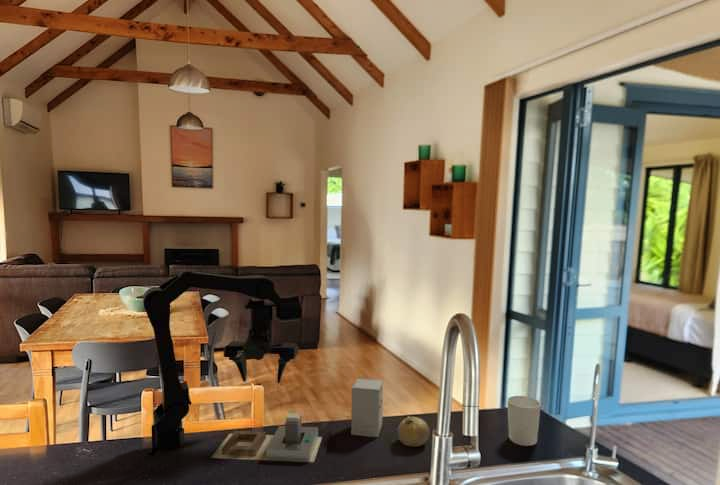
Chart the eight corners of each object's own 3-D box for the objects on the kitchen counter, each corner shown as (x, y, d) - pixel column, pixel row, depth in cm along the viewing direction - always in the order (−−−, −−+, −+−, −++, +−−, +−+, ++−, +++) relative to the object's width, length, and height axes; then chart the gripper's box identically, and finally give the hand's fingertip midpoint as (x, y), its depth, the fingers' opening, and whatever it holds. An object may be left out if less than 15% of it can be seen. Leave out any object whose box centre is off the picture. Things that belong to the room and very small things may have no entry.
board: (211, 461, 108) (211, 457, 108) (229, 437, 120) (229, 433, 120) (313, 466, 107) (313, 462, 106) (322, 441, 118) (322, 437, 118)
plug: (285, 452, 111) (285, 419, 110) (289, 443, 115) (289, 411, 115) (297, 452, 111) (297, 419, 110) (301, 443, 115) (301, 411, 115)
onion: (400, 434, 123) (401, 407, 122) (431, 438, 121) (431, 411, 120) (394, 448, 115) (394, 420, 115) (427, 453, 113) (427, 424, 112)
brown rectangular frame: (222, 454, 110) (221, 448, 110) (235, 436, 119) (235, 430, 118) (255, 456, 109) (255, 449, 109) (266, 437, 118) (266, 432, 118)
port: (266, 460, 107) (266, 447, 107) (279, 435, 119) (279, 424, 119) (309, 461, 107) (309, 449, 106) (318, 437, 119) (318, 425, 118)
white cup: (505, 443, 118) (506, 404, 117) (507, 430, 125) (508, 393, 124) (538, 449, 115) (540, 410, 114) (539, 435, 122) (540, 398, 121)
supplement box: (378, 438, 120) (378, 389, 120) (350, 435, 122) (350, 387, 121) (383, 425, 128) (383, 379, 127) (356, 422, 129) (356, 377, 128)
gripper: (214, 330, 116) (215, 392, 117) (289, 332, 114) (289, 395, 115) (230, 320, 127) (231, 376, 128) (298, 321, 125) (299, 379, 126)
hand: (261, 382), depth 124 cm, fingers open, 9 cm apart
